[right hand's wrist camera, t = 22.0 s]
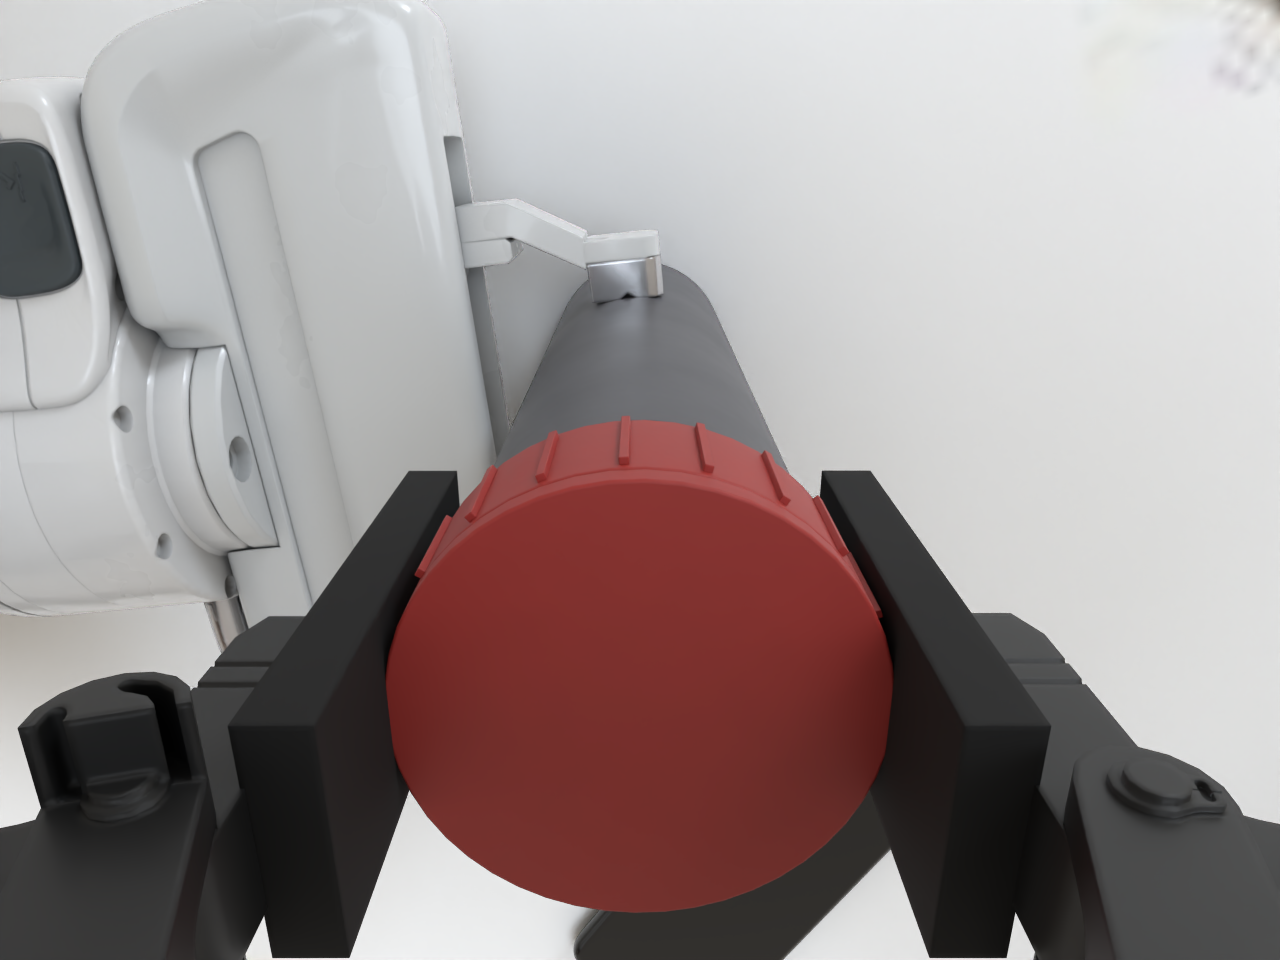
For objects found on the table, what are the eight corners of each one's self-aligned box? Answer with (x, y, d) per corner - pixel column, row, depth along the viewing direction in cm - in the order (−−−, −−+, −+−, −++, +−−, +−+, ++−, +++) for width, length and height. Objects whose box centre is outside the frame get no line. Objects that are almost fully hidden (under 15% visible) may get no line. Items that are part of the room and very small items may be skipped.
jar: (673, 446, 31) (726, 900, 12) (532, 378, 30) (358, 755, 11) (749, 307, 29) (943, 589, 10) (602, 231, 28) (530, 391, 10)
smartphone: (789, 679, 34) (563, 943, 38) (793, 692, 33) (562, 961, 37) (947, 774, 35) (712, 1017, 40) (954, 790, 35) (713, 1036, 39)
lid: (366, 716, 13) (314, 825, 11) (514, 340, 11) (485, 385, 9) (739, 847, 13) (757, 972, 11) (936, 520, 12) (1001, 600, 10)
